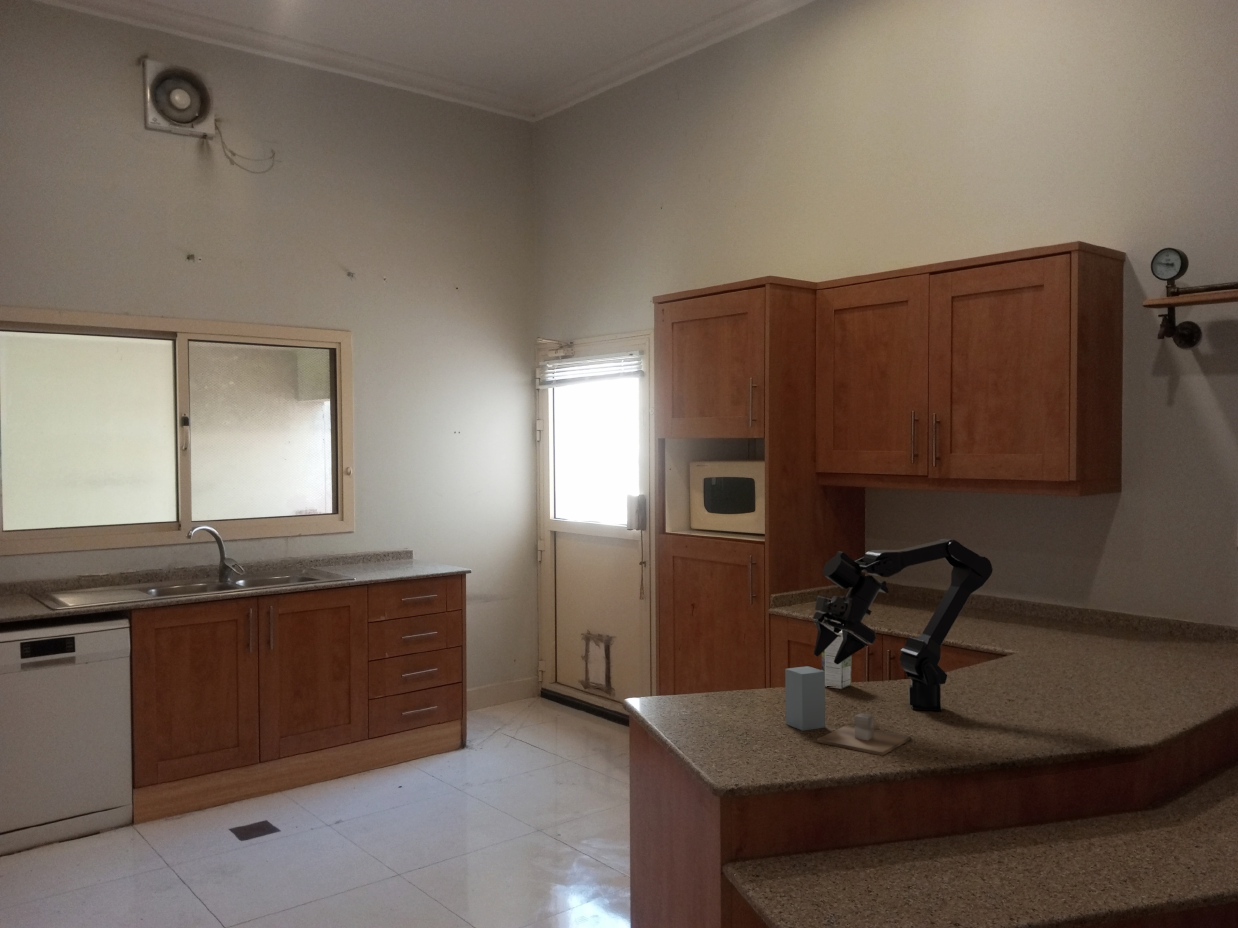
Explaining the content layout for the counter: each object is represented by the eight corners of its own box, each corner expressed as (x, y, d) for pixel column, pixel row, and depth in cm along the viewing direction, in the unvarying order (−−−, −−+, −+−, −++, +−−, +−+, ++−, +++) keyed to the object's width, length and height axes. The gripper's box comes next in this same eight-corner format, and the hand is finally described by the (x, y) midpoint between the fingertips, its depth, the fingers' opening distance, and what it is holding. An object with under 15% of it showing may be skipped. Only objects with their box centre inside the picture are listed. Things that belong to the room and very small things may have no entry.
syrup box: (831, 682, 241) (830, 626, 241) (852, 685, 237) (852, 628, 237) (821, 686, 236) (820, 629, 236) (842, 689, 232) (842, 631, 233)
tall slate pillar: (808, 720, 204) (807, 666, 204) (825, 727, 199) (824, 671, 199) (785, 723, 201) (785, 668, 202) (802, 730, 196) (801, 674, 196)
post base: (847, 727, 198) (847, 703, 198) (911, 738, 189) (910, 714, 190) (816, 742, 188) (816, 716, 188) (882, 755, 179) (882, 728, 179)
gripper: (812, 576, 217) (779, 634, 215) (853, 586, 199) (818, 648, 197) (847, 601, 220) (815, 658, 217) (891, 612, 202) (857, 674, 199)
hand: (825, 659), depth 207 cm, fingers open, 9 cm apart
